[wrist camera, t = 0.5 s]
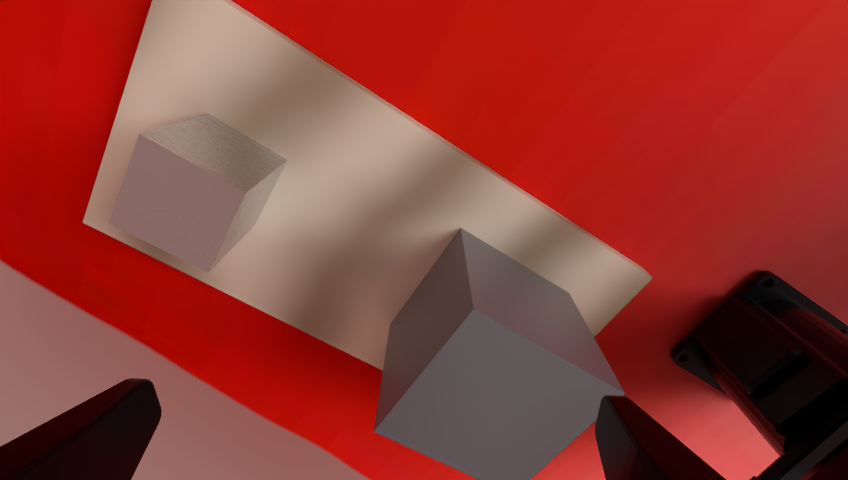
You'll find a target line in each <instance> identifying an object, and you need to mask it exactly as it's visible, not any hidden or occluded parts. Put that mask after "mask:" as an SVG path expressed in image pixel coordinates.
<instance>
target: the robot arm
mask: <svg viewBox="0 0 848 480" xmlns="http://www.w3.org/2000/svg"><path fill="white" fill-rule="evenodd" d="M767 279H768V280H767ZM766 280H767V281H766ZM764 281H766V282H765V283H764ZM681 355H683V356H681ZM670 356H671V358H672V360H673V361H674V362H675V363H676V364H677V365H678V366H680V367H682V368H684V369H685V370H687V371H689V372H690V373H692V374H694V375H695V376H697V377H699V378H700V379H702V380H704V381H705V382H707V383H709V384H710V385H712V386H714V387H715V388H717V389H719V390H720V391H722V392H724V393H725V394H727V395H728V396H729V397H730V398H731V399H732V400H733V402H734V403H735V404H736V405H737V406H738V408H739V409H740V410H741V411H742V412H743V413H744V415H745V416H746V417H747V418H748V419H749V420H750V422H751V423H752V424H753V425H754V426H755V427H756V429H757V430H758V431H759V432H760V433H761V435H762V436H763V437H764V438H765V439H766V440H767V442H768V443H769V444H770V445H771V446H772V447H773V449H774V450H775V451H776V452H777V453H778V455H779V456H780V457H779V458H778V459H776V460H775V461H774V462H773V463H772V464H771V465H770V466H769V467H767V468H766V469H765V470H764V471H763V472H762V473H761V474H760V475H758V476H757V477H755V476H753V477H752V478H751V479H750V480H848V326H847V325H846V324H844V323H843V322H841V321H840V320H838V319H837V318H836V317H834V316H833V315H831V314H830V313H829V312H827V311H826V310H824V309H823V308H821V307H820V306H819V305H817V304H816V303H814V302H813V301H812V300H810V299H809V298H807V297H806V296H805V295H803V294H802V293H800V292H799V291H797V290H796V289H795V288H793V287H792V286H790V285H789V284H788V283H786V282H785V281H783V280H782V279H780V278H779V277H778V276H776V275H775V274H773V273H772V272H770V271H761V272H759V273H757V274H756V275H755V276H754V277H753V278H752V279H750V280H749V281H748V282H747V283H746V284H745V285H744V286H743V287H742V288H740V289H739V290H738V291H737V292H736V293H735V294H734V295H733V296H732V297H730V298H729V299H728V300H727V301H726V302H725V303H724V304H723V305H722V306H721V307H719V308H718V309H717V310H716V311H715V312H714V313H713V314H712V315H711V316H709V317H708V318H707V319H706V320H705V321H704V322H703V323H702V324H701V325H699V326H698V327H697V328H696V329H695V330H694V331H693V332H692V333H691V334H689V335H688V336H687V337H686V338H685V339H684V340H683V341H682V342H681V343H680V344H678V345H677V346H676V347H675V348H674V349H673V350H672V351H671V354H670ZM680 356H681V357H680ZM160 418H161V406H160V403H159V400H158V397H157V394H156V391H155V388H154V385H153V383H152V382H151V381H150V380H148V379H134V378H132V379H127V380H124V381H122V382H120V383H119V384H117V385H115V386H113V387H111V388H109V389H108V390H106V391H104V392H102V393H100V394H98V395H96V396H94V397H93V398H90V399H89V400H87V401H85V402H83V403H81V404H79V405H77V406H76V407H74V408H72V409H70V410H68V411H66V412H64V413H63V414H61V415H59V416H57V417H55V418H53V419H51V420H49V421H48V422H46V423H44V424H42V425H40V426H38V427H36V428H34V429H33V430H31V431H29V432H27V433H25V434H23V435H21V436H19V437H18V438H16V439H14V440H12V441H10V442H8V443H6V444H5V445H3V446H1V447H0V480H131V478H132V476H133V474H134V472H135V470H136V468H137V466H138V464H139V462H140V460H141V458H142V456H143V454H144V452H145V450H146V448H147V446H148V444H149V442H150V440H151V438H152V436H153V434H154V432H155V430H156V428H157V425H158V424H159V421H160ZM595 435H596V441H597V445H598V449H599V453H600V457H601V461H602V465H603V470H604V474H605V478H606V480H726V479H725V478H724V477H722V476H721V475H720V474H719V473H718V472H716V471H715V470H714V469H713V468H712V467H710V466H709V465H708V464H707V463H706V462H704V461H703V460H702V459H701V458H700V457H698V456H697V455H696V454H695V453H694V452H692V451H691V450H690V449H689V448H688V447H686V446H685V445H684V444H683V443H682V442H680V441H679V440H678V439H677V438H676V437H674V436H673V435H672V434H671V433H670V432H669V431H667V430H666V429H665V428H664V427H663V426H661V425H660V424H659V423H658V422H657V421H655V420H654V419H653V418H652V417H651V416H649V415H648V414H647V413H646V412H645V411H643V410H642V409H641V408H640V407H639V406H637V405H636V404H635V403H634V402H633V401H631V400H630V399H629V398H627V397H626V396H622V395H605V396H603V398H602V399H601V403H600V407H599V412H598V416H597V420H596V425H595Z"/></svg>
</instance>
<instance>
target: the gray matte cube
mask: <svg viewBox="0 0 848 480" xmlns="http://www.w3.org/2000/svg"><path fill="white" fill-rule="evenodd" d="M624 394H625V392H624V390H623V388H622V387H621V385H620V383H619V381H618V380H617V378H616V376H615V374H614V372H613V371H612V369H611V367H610V365H609V363H608V362H607V360H606V358H605V356H604V354H603V353H602V351H601V349H600V347H599V346H598V344H597V342H596V340H595V338H594V337H593V335H592V333H591V331H590V329H589V328H588V326H587V324H586V322H585V320H584V319H583V317H582V315H581V313H580V312H579V310H578V308H577V306H576V304H575V303H574V301H573V299H572V297H571V295H570V294H569V293H568V292H567V291H565V290H563V289H562V288H560V287H558V286H557V285H555V284H553V283H552V282H550V281H548V280H547V279H545V278H543V277H542V276H540V275H538V274H537V273H535V272H534V271H532V270H530V269H529V268H527V267H525V266H524V265H522V264H520V263H519V262H517V261H515V260H514V259H512V258H510V257H509V256H507V255H505V254H504V253H502V252H500V251H499V250H497V249H495V248H494V247H492V246H490V245H489V244H487V243H485V242H484V241H482V240H480V239H479V238H477V237H475V236H474V235H472V234H470V233H469V232H467V231H465V230H464V229H462V228H460V229H459V231H458V232H457V233H456V235H455V236H454V237H453V239H452V240H451V242H450V243H449V244H448V246H447V247H446V248H445V250H444V251H443V253H442V254H441V255H440V257H439V258H438V259H437V261H436V262H435V264H434V265H433V266H432V268H431V269H430V270H429V272H428V273H427V274H426V276H425V277H424V279H423V280H422V281H421V283H420V284H419V285H418V287H417V288H416V290H415V291H414V292H413V294H412V295H411V296H410V298H409V299H408V301H407V302H406V303H405V305H404V306H403V307H402V309H401V310H400V312H399V313H398V314H397V316H396V317H395V318H394V320H393V321H392V323H391V324H390V327H389V333H388V340H387V347H386V353H385V360H384V367H383V373H382V380H381V387H380V393H379V400H378V407H377V413H376V420H375V427H374V432H375V433H378V434H380V435H382V436H384V437H386V438H389V439H391V440H393V441H395V442H397V443H400V444H402V445H404V446H406V447H408V448H410V449H413V450H415V451H417V452H419V453H421V454H424V455H426V456H428V457H430V458H432V459H435V460H437V461H439V462H441V463H443V464H446V465H448V466H450V467H452V468H454V469H456V470H459V471H461V472H463V473H465V474H467V475H470V476H472V477H474V478H476V479H478V480H530V479H531V478H532V477H533V476H535V475H536V474H537V473H538V472H539V471H540V470H541V469H542V468H543V467H545V466H546V465H547V464H548V463H549V462H550V461H551V460H552V459H553V458H555V457H556V456H557V455H558V454H559V453H560V452H561V451H562V450H563V449H565V448H566V447H567V446H568V445H569V444H570V443H571V442H572V441H573V440H575V439H576V438H577V437H578V436H579V435H580V434H581V433H582V432H583V431H585V430H586V429H587V428H588V427H589V426H590V425H591V424H592V423H593V422H595V421H596V420H597V416H598V412H599V407H600V403H601V399H602V398H603V396H605V395H622V396H623V395H624Z"/></svg>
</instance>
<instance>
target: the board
mask: <svg viewBox="0 0 848 480" xmlns="http://www.w3.org/2000/svg"><path fill="white" fill-rule="evenodd" d="M204 114H210V115H211V116H213V117H215V118H217V119H218V120H220V121H222V122H223V123H225V124H227V125H229V126H230V127H232V128H234V129H235V130H237V131H239V132H241V133H242V134H244V135H246V136H248V137H249V138H251V139H253V140H254V141H256V142H258V143H260V144H261V145H263V146H265V147H266V148H268V149H270V150H272V151H273V152H275V153H277V154H278V155H280V156H282V157H284V158H285V159H287V160H288V161H287V163H286V165H285V167H284V169H283V171H282V173H281V175H280V177H279V179H278V181H277V183H276V185H275V187H274V189H273V191H272V193H271V195H270V197H269V199H268V201H267V203H266V205H265V206H264V208H263V210H262V212H261V214H260V216H259V218H258V220H257V222H256V224H255V226H254V227H253V228H252V229H251V230H250V231H249V232H248V233H247V234H246V235H245V236H244V237H243V238H242V239H241V240H240V241H239V242H238V243H237V244H236V245H235V246H234V247H233V248H232V249H231V250H230V251H229V252H228V253H227V254H226V255H225V256H224V257H223V258H222V259H221V260H220V261H219V262H218V263H217V264H216V265H215V266H214V267H213V268H212V269H211V270H210V271H209V272H208V273H207V272H205V271H203V270H201V269H199V268H197V267H195V266H193V265H191V264H189V263H187V262H185V261H183V260H181V259H179V258H177V257H175V256H173V255H171V254H169V253H167V252H165V251H163V250H161V249H159V248H157V247H155V246H153V245H151V244H149V243H147V242H145V241H143V240H141V239H139V238H137V237H135V236H133V235H131V234H129V233H127V232H125V231H123V230H121V229H119V228H117V227H115V226H113V225H111V224H109V221H110V218H111V215H112V212H113V209H114V206H115V203H116V200H117V197H118V194H119V191H120V189H121V186H122V183H123V180H124V177H125V174H126V171H127V168H128V165H129V162H130V159H131V156H132V154H133V151H134V148H135V145H136V142H137V139H138V136H139V134H141V133H144V132H147V131H151V130H154V129H158V128H161V127H164V126H168V125H171V124H174V123H178V122H181V121H184V120H188V119H191V118H194V117H198V116H201V115H204ZM82 223H84V224H86V225H88V226H90V227H92V228H94V229H97V230H99V231H101V232H103V233H105V234H107V235H109V236H111V237H113V238H115V239H117V240H119V241H121V242H123V243H125V244H127V245H129V246H131V247H133V248H135V249H137V250H139V251H141V252H143V253H145V254H147V255H149V256H151V257H153V258H155V259H157V260H159V261H161V262H163V263H165V264H167V265H169V266H171V267H173V268H176V269H178V270H180V271H182V272H184V273H186V274H188V275H190V276H192V277H194V278H196V279H198V280H200V281H202V282H204V283H206V284H208V285H210V286H212V287H214V288H216V289H218V290H220V291H222V292H224V293H226V294H228V295H230V296H232V297H234V298H236V299H238V300H240V301H242V302H244V303H246V304H248V305H250V306H252V307H255V308H257V309H259V310H261V311H263V312H265V313H267V314H269V315H271V316H273V317H275V318H277V319H279V320H281V321H283V322H285V323H287V324H289V325H291V326H293V327H295V328H297V329H299V330H301V331H303V332H305V333H307V334H309V335H311V336H313V337H315V338H317V339H319V340H321V341H323V342H325V343H327V344H329V345H331V346H334V347H336V348H338V349H340V350H342V351H344V352H346V353H348V354H350V355H352V356H354V357H356V358H358V359H360V360H362V361H364V362H366V363H368V364H370V365H372V366H374V367H376V368H378V369H380V370H382V371H383V367H384V360H385V353H386V347H387V340H388V333H389V327H390V324H391V323H392V321H393V320H394V318H395V317H396V316H397V314H398V313H399V312H400V310H401V309H402V307H403V306H404V305H405V303H406V302H407V301H408V299H409V298H410V296H411V295H412V294H413V292H414V291H415V290H416V288H417V287H418V285H419V284H420V283H421V281H422V280H423V279H424V277H425V276H426V274H427V273H428V272H429V270H430V269H431V268H432V266H433V265H434V264H435V262H436V261H437V259H438V258H439V257H440V255H441V254H442V253H443V251H444V250H445V248H446V247H447V246H448V244H449V243H450V242H451V240H452V239H453V237H454V236H455V235H456V233H457V232H458V231H459V229H460V228H462V229H464V230H465V231H467V232H469V233H470V234H472V235H474V236H475V237H477V238H479V239H480V240H482V241H484V242H485V243H487V244H489V245H490V246H492V247H494V248H495V249H497V250H499V251H500V252H502V253H504V254H505V255H507V256H509V257H510V258H512V259H514V260H515V261H517V262H519V263H520V264H522V265H524V266H525V267H527V268H529V269H530V270H532V271H534V272H535V273H537V274H538V275H540V276H542V277H543V278H545V279H547V280H548V281H550V282H552V283H553V284H555V285H557V286H558V287H560V288H562V289H563V290H565V291H567V292H568V293H569V294H570V295H571V297H572V299H573V301H574V303H575V304H576V306H577V308H578V310H579V312H580V313H581V315H582V317H583V319H584V320H585V322H586V324H587V326H588V328H589V329H590V331H591V333H592V335H593V337H595V336H596V335H597V334H598V333H599V332H600V331H601V330H602V329H603V328H604V327H605V326H606V325H607V324H608V323H609V322H610V321H611V320H612V319H613V318H614V317H615V316H616V315H617V314H618V313H619V312H620V311H621V310H622V309H623V308H624V307H625V306H626V305H627V304H628V303H629V302H630V301H631V300H632V299H633V298H634V297H635V296H636V294H637V293H638V292H639V291H640V290H641V289H642V288H643V287H644V286H645V285H646V284H647V283H648V282H649V281H650V280H651V279H652V277H651V276H650V274H649V273H648V272H647V271H646V270H645V269H644V268H642V267H641V266H639V265H638V264H636V263H635V262H633V261H632V260H630V259H629V258H627V257H626V256H624V255H622V254H621V253H619V252H618V251H616V250H615V249H613V248H612V247H610V246H609V245H607V244H605V243H604V242H602V241H601V240H599V239H598V238H596V237H595V236H593V235H592V234H590V233H589V232H587V231H585V230H584V229H582V228H581V227H579V226H578V225H576V224H575V223H573V222H572V221H570V220H569V219H567V218H565V217H564V216H562V215H561V214H559V213H558V212H556V211H555V210H553V209H552V208H550V207H548V206H547V205H545V204H544V203H542V202H541V201H539V200H538V199H536V198H535V197H533V196H532V195H530V194H528V193H527V192H525V191H524V190H522V189H521V188H519V187H518V186H516V185H515V184H513V183H511V182H510V181H508V180H507V179H505V178H504V177H502V176H501V175H499V174H498V173H496V172H495V171H493V170H491V169H490V168H488V167H487V166H485V165H484V164H482V163H481V162H479V161H478V160H476V159H475V158H473V157H471V156H470V155H468V154H467V153H465V152H464V151H462V150H461V149H459V148H458V147H456V146H454V145H453V144H451V143H450V142H448V141H447V140H445V139H444V138H442V137H441V136H439V135H438V134H436V133H434V132H433V131H431V130H430V129H428V128H427V127H425V126H424V125H422V124H421V123H419V122H417V121H416V120H414V119H413V118H411V117H410V116H408V115H407V114H405V113H404V112H402V111H401V110H399V109H397V108H396V107H394V106H393V105H391V104H390V103H388V102H387V101H385V100H384V99H382V98H381V97H379V96H377V95H376V94H374V93H373V92H371V91H370V90H368V89H367V88H365V87H364V86H362V85H360V84H359V83H357V82H356V81H354V80H353V79H351V78H350V77H348V76H347V75H345V74H344V73H342V72H340V71H339V70H337V69H336V68H334V67H333V66H331V65H330V64H328V63H327V62H325V61H323V60H322V59H320V58H319V57H317V56H316V55H314V54H313V53H311V52H310V51H308V50H307V49H305V48H303V47H302V46H300V45H299V44H297V43H296V42H294V41H293V40H291V39H290V38H288V37H287V36H285V35H283V34H282V33H280V32H279V31H277V30H276V29H274V28H273V27H271V26H270V25H268V24H266V23H265V22H263V21H262V20H260V19H259V18H257V17H256V16H254V15H253V14H251V13H250V12H248V11H246V10H245V9H243V8H242V7H240V6H239V5H237V4H236V3H234V2H233V1H231V0H152V3H151V6H150V9H149V12H148V16H147V19H146V22H145V25H144V28H143V32H142V35H141V38H140V41H139V44H138V47H137V51H136V54H135V57H134V60H133V63H132V67H131V70H130V73H129V76H128V79H127V82H126V86H125V89H124V92H123V95H122V98H121V102H120V105H119V108H118V111H117V114H116V117H115V121H114V124H113V127H112V130H111V133H110V137H109V140H108V143H107V146H106V149H105V152H104V156H103V159H102V162H101V165H100V168H99V172H98V175H97V178H96V181H95V184H94V187H93V191H92V194H91V197H90V200H89V203H88V207H87V210H86V213H85V216H84V219H83V222H82Z"/></svg>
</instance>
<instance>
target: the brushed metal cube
mask: <svg viewBox="0 0 848 480" xmlns="http://www.w3.org/2000/svg"><path fill="white" fill-rule="evenodd" d="M287 161H288V160H287V159H285V158H284V157H282V156H280V155H278V154H277V153H275V152H273V151H272V150H270V149H268V148H266V147H265V146H263V145H261V144H260V143H258V142H256V141H254V140H253V139H251V138H249V137H248V136H246V135H244V134H242V133H241V132H239V131H237V130H235V129H234V128H232V127H230V126H229V125H227V124H225V123H223V122H222V121H220V120H218V119H217V118H215V117H213V116H211V115H210V114H204V115H201V116H198V117H194V118H191V119H188V120H184V121H181V122H178V123H174V124H171V125H168V126H164V127H161V128H158V129H154V130H151V131H147V132H144V133H141V134H139V136H138V139H137V142H136V145H135V148H134V151H133V154H132V156H131V159H130V162H129V165H128V168H127V171H126V174H125V177H124V180H123V183H122V186H121V189H120V191H119V194H118V197H117V200H116V203H115V206H114V209H113V212H112V215H111V218H110V221H109V224H111V225H113V226H115V227H117V228H119V229H121V230H123V231H125V232H127V233H129V234H131V235H133V236H135V237H137V238H139V239H141V240H143V241H145V242H147V243H149V244H151V245H153V246H155V247H157V248H159V249H161V250H163V251H165V252H167V253H169V254H171V255H173V256H175V257H177V258H179V259H181V260H183V261H185V262H187V263H189V264H191V265H193V266H195V267H197V268H199V269H201V270H203V271H205V272H207V273H208V272H209V271H210V270H211V269H212V268H213V267H214V266H215V265H216V264H217V263H218V262H219V261H220V260H221V259H222V258H223V257H224V256H225V255H226V254H227V253H228V252H229V251H230V250H231V249H232V248H233V247H234V246H235V245H236V244H237V243H238V242H239V241H240V240H241V239H242V238H243V237H244V236H245V235H246V234H247V233H248V232H249V231H250V230H251V229H252V228H253V227H254V226H255V224H256V222H257V220H258V218H259V216H260V214H261V212H262V210H263V208H264V206H265V205H266V203H267V201H268V199H269V197H270V195H271V193H272V191H273V189H274V187H275V185H276V183H277V181H278V179H279V177H280V175H281V173H282V171H283V169H284V167H285V165H286V163H287Z"/></svg>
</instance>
